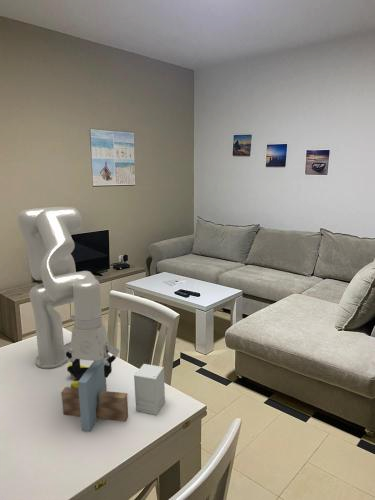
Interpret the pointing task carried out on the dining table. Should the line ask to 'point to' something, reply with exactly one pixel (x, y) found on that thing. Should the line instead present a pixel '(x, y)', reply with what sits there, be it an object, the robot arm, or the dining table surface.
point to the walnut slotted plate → (108, 407)
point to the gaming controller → (76, 376)
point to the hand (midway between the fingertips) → (92, 373)
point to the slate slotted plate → (91, 393)
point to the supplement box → (149, 389)
